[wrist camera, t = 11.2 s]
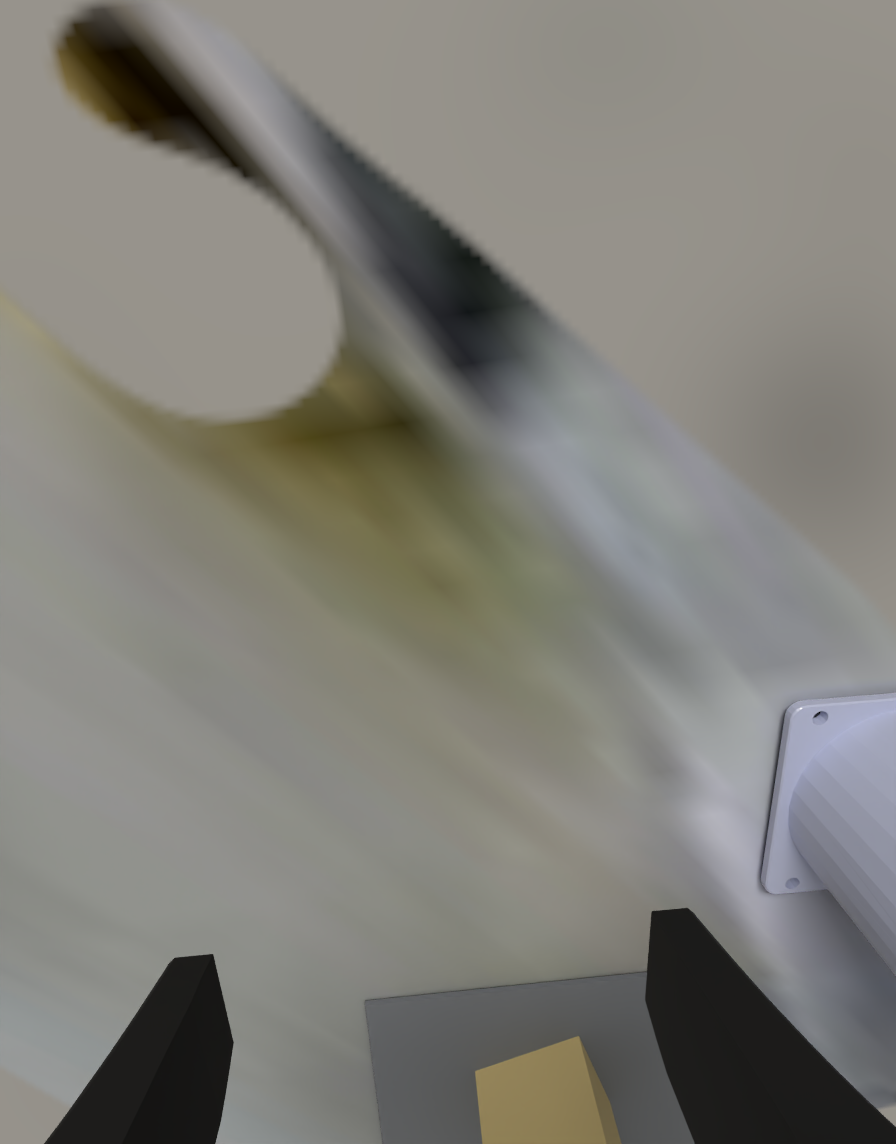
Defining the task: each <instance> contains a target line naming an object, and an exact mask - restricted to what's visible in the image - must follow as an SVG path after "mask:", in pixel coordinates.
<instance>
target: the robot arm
mask: <svg viewBox="0 0 896 1144" xmlns="http://www.w3.org/2000/svg"><path fill="white" fill-rule="evenodd" d="M820 711H821V712H820ZM817 712H820V714H819V715H818V716H817V717H816V718H813V717H814V715H815V714H816V713H817ZM761 883H762V884H763V886H764V887H765V889H766V890H767V892H769V893H771V894H785V893H796V892H806V891H816V890H827V889H828V890H829V891H830V892H831V894H832V895H833V896H834V898H835V899H836V900H837V901H838V903H839V904H840V905H841V907H842V908H843V909H844V910H845V912H846V913H847V914H848V916H849V917H850V918H851V919H852V921H853V922H854V923H855V925H856V926H857V927H858V928H859V930H860V931H861V932H862V934H863V935H864V936H865V937H866V939H867V940H868V941H869V943H870V944H871V945H872V946H873V948H874V949H875V950H876V952H877V953H878V954H879V955H880V957H881V958H882V959H883V961H884V962H885V963H886V964H887V966H888V967H889V968H890V970H891V971H892V972H893V973H894V975H895V976H896V693H888V694H876V695H863V696H851V697H839V698H827V699H815V700H802V701H798V702H795V703H793V704H792V705H790V707H789V708H788V709H787V711H786V714H785V718H784V725H783V732H782V739H781V745H780V752H779V759H778V766H777V772H776V779H775V786H774V793H773V799H772V806H771V813H770V820H769V827H768V833H767V840H766V847H765V854H764V860H763V867H762V874H761ZM645 1002H646V1005H647V1009H648V1012H649V1016H650V1019H651V1023H652V1026H653V1029H654V1033H655V1036H656V1040H657V1043H658V1046H659V1050H660V1053H661V1056H662V1060H663V1063H664V1066H665V1069H666V1072H667V1075H668V1078H669V1080H670V1083H671V1085H672V1088H673V1090H674V1093H675V1095H676V1098H677V1100H678V1103H679V1105H680V1108H681V1110H682V1113H683V1115H684V1118H685V1121H686V1123H687V1126H688V1128H689V1131H690V1133H691V1136H692V1138H693V1140H694V1143H695V1144H896V1127H895V1126H894V1125H893V1124H892V1123H891V1122H890V1121H888V1120H887V1119H886V1118H885V1117H884V1116H883V1115H882V1114H881V1113H880V1112H879V1111H878V1110H877V1109H876V1108H875V1107H874V1106H873V1105H872V1104H871V1103H870V1102H869V1101H867V1100H866V1099H865V1098H864V1097H863V1096H862V1095H861V1094H860V1093H859V1092H858V1091H857V1090H856V1089H855V1088H854V1087H853V1086H852V1085H851V1084H850V1083H849V1082H848V1081H847V1080H846V1079H845V1078H844V1077H843V1076H842V1075H841V1074H840V1073H839V1072H838V1071H837V1070H836V1069H835V1068H834V1067H833V1066H832V1065H831V1064H830V1063H829V1062H828V1061H827V1060H826V1059H825V1058H824V1057H823V1056H822V1055H821V1054H820V1053H819V1052H818V1051H817V1050H816V1049H815V1048H814V1047H813V1046H812V1045H811V1044H810V1043H809V1042H808V1041H807V1040H806V1038H805V1037H804V1036H803V1035H802V1034H801V1033H800V1032H799V1031H798V1030H797V1029H796V1028H795V1027H794V1026H793V1025H792V1024H791V1023H790V1022H789V1020H788V1019H787V1018H786V1017H785V1016H784V1015H783V1014H782V1013H781V1012H780V1011H779V1010H778V1009H777V1008H776V1007H775V1006H774V1005H773V1003H772V1002H771V1001H770V1000H769V999H768V998H767V997H766V996H765V995H764V994H763V992H762V991H761V990H760V989H759V988H758V987H757V986H756V985H755V984H754V983H753V981H752V980H751V979H750V978H749V977H748V976H747V975H746V973H745V972H744V971H743V970H742V969H741V968H740V967H739V966H738V964H737V963H736V962H735V961H734V960H733V959H732V958H731V956H730V955H729V954H728V953H727V952H726V951H725V950H724V948H723V947H722V946H721V945H720V944H719V943H718V941H717V940H716V939H715V938H714V937H713V935H712V934H711V933H710V932H709V931H708V930H707V928H706V927H705V926H704V925H703V924H702V923H701V921H700V920H699V919H698V918H697V917H696V915H695V914H694V913H693V912H692V911H691V910H689V909H688V908H682V909H672V910H661V911H652V914H651V927H650V940H649V954H648V967H647V980H646V993H645ZM232 1049H233V1038H232V1034H231V1030H230V1025H229V1021H228V1017H227V1012H226V1008H225V1004H224V999H223V995H222V991H221V986H220V982H219V978H218V973H217V969H216V965H215V960H214V956H213V954H209V955H199V956H188V957H178V958H174V959H173V960H172V961H171V962H170V963H169V964H168V966H167V968H166V969H165V971H164V972H163V974H162V975H161V977H160V978H159V980H158V981H157V983H156V984H155V986H154V988H153V989H152V991H151V992H150V994H149V995H148V997H147V998H146V1000H145V1001H144V1003H143V1004H142V1006H141V1007H140V1009H139V1010H138V1012H137V1013H136V1015H135V1016H134V1018H133V1019H132V1021H131V1022H130V1024H129V1025H128V1027H127V1028H126V1030H125V1031H124V1033H123V1034H122V1036H121V1037H120V1039H119V1040H118V1042H117V1043H116V1045H115V1046H114V1047H113V1049H112V1050H111V1052H110V1053H109V1055H108V1056H107V1058H106V1059H105V1060H104V1062H103V1063H102V1065H101V1066H100V1068H99V1069H98V1070H97V1072H96V1073H95V1075H94V1076H93V1077H92V1079H91V1080H90V1082H89V1083H88V1084H87V1086H86V1087H85V1089H84V1090H83V1092H82V1093H81V1094H80V1096H79V1097H78V1099H77V1100H76V1101H75V1103H74V1104H73V1106H72V1107H71V1108H70V1110H69V1111H68V1113H67V1114H66V1115H65V1117H64V1118H63V1119H62V1121H61V1122H60V1124H59V1125H58V1126H57V1128H56V1129H55V1130H54V1131H53V1133H52V1134H51V1135H50V1137H49V1138H48V1139H47V1141H46V1142H45V1143H44V1144H215V1142H216V1138H217V1134H218V1130H219V1126H220V1122H221V1117H222V1111H223V1105H224V1100H225V1094H226V1088H227V1082H228V1075H229V1069H230V1062H231V1056H232Z"/></svg>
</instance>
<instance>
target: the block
mask: <svg viewBox="0 0 896 1144" xmlns="http://www.w3.org/2000/svg"><path fill="white" fill-rule="evenodd" d="M475 1076H476V1086H477V1096H478V1105H479V1115H480V1125H481V1134H482V1144H621V1140H620V1137H619V1133H618V1129H617V1126H616V1122H615V1119H614V1115H613V1111H612V1108H611V1104H610V1101H609V1099H608V1097H607V1095H606V1093H605V1090H604V1088H603V1086H602V1084H601V1082H600V1080H599V1078H598V1076H597V1073H596V1071H595V1069H594V1067H593V1065H592V1063H591V1061H590V1059H589V1056H588V1054H587V1052H586V1050H585V1048H584V1046H583V1044H582V1042H581V1039H580V1037H579V1036H577V1037H574V1038H571V1039H568V1040H565V1041H562V1042H559V1043H556V1044H553V1045H550V1046H547V1047H544V1048H542V1049H539V1050H536V1051H533V1052H530V1053H527V1054H524V1055H521V1056H518V1057H515V1058H512V1059H509V1060H506V1061H503V1062H501V1063H498V1064H495V1065H492V1066H489V1067H486V1068H483V1069H480V1070H477V1071H475Z"/></svg>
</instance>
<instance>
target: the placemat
mask: <svg viewBox="0 0 896 1144" xmlns="http://www.w3.org/2000/svg"><path fill="white" fill-rule="evenodd" d="M646 980H647V972H642V973H632V974H622V975H612V976H602V977H592V978H583V979H573V980H563V981H553V982H543V983H534V984H524V985H514V986H504V987H494V988H485V989H475V990H465V991H455V992H445V993H436V994H426V995H416V996H406V997H396V998H386V999H377V1000H367V1001H365V1010H366V1018H367V1025H368V1033H369V1041H370V1049H371V1056H372V1064H373V1072H374V1080H375V1087H376V1095H377V1103H378V1111H379V1118H380V1126H381V1134H382V1142H383V1144H482V1134H481V1125H480V1115H479V1105H478V1096H477V1086H476V1076H475V1071H477V1070H480V1069H483V1068H486V1067H489V1066H492V1065H495V1064H498V1063H501V1062H503V1061H506V1060H509V1059H512V1058H515V1057H518V1056H521V1055H524V1054H527V1053H530V1052H533V1051H536V1050H539V1049H542V1048H544V1047H547V1046H550V1045H553V1044H556V1043H559V1042H562V1041H565V1040H568V1039H571V1038H574V1037H577V1036H579V1037H580V1039H581V1042H582V1044H583V1046H584V1048H585V1050H586V1052H587V1054H588V1056H589V1059H590V1061H591V1063H592V1065H593V1067H594V1069H595V1071H596V1073H597V1076H598V1078H599V1080H600V1082H601V1084H602V1086H603V1088H604V1090H605V1093H606V1095H607V1097H608V1099H609V1101H610V1104H611V1108H612V1111H613V1115H614V1119H615V1122H616V1126H617V1129H618V1133H619V1137H620V1140H621V1144H695V1143H694V1140H693V1138H692V1136H691V1133H690V1131H689V1128H688V1126H687V1123H686V1121H685V1118H684V1115H683V1113H682V1110H681V1108H680V1105H679V1103H678V1100H677V1098H676V1095H675V1093H674V1090H673V1088H672V1085H671V1083H670V1080H669V1078H668V1075H667V1072H666V1069H665V1066H664V1063H663V1060H662V1056H661V1053H660V1050H659V1046H658V1043H657V1040H656V1036H655V1033H654V1029H653V1026H652V1023H651V1019H650V1016H649V1012H648V1009H647V1005H646V1002H645V993H646Z"/></svg>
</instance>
